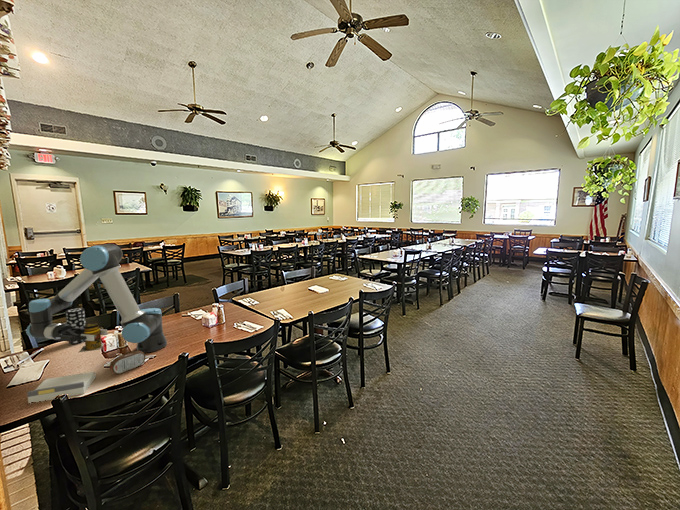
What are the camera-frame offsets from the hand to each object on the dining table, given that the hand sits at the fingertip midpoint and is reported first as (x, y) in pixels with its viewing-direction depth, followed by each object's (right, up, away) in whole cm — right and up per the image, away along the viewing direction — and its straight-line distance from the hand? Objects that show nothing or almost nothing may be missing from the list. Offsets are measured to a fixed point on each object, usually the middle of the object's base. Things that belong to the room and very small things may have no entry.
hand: (100, 335), depth 142 cm
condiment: (-5, -7, +1) cm, 9 cm away
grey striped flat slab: (-5, -21, -13) cm, 25 cm away
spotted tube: (-42, -14, +34) cm, 56 cm away
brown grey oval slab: (+11, -19, +4) cm, 22 cm away
